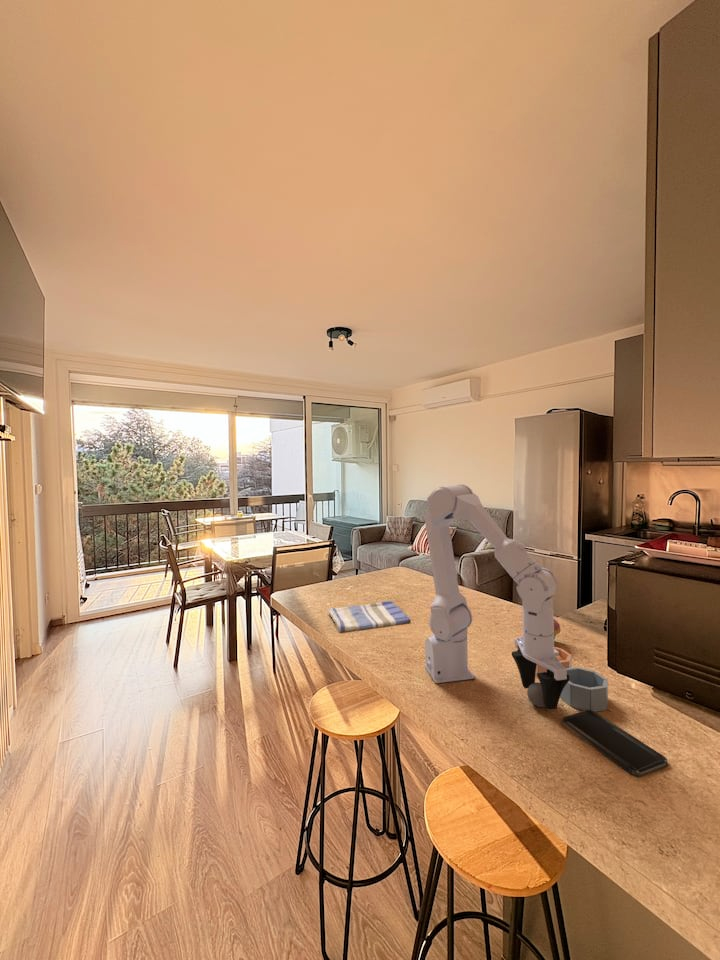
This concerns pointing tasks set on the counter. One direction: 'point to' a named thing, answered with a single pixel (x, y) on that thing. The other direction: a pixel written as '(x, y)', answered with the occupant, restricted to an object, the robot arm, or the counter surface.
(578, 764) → the counter surface
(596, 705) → the slate cup
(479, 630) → the counter surface
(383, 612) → the dish towel
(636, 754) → the phone
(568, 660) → the terracotta octagonal bowl
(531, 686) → the charcoal ball
